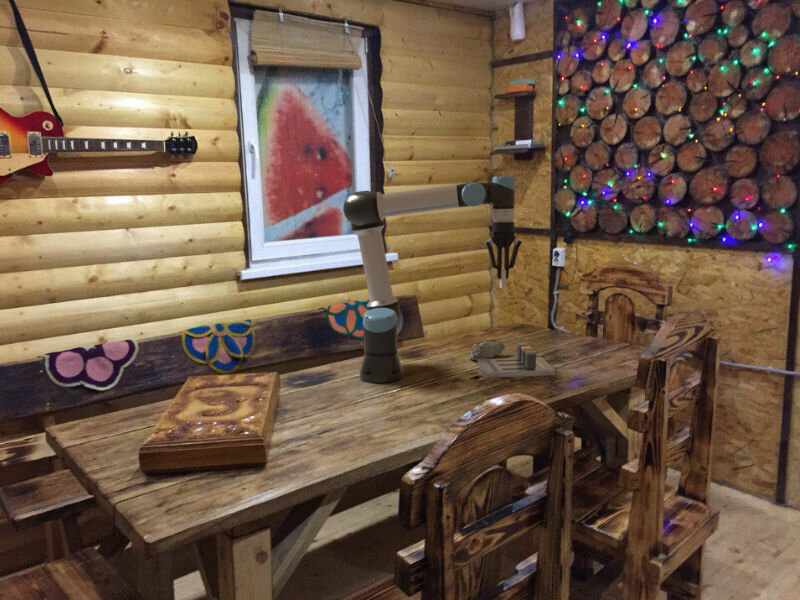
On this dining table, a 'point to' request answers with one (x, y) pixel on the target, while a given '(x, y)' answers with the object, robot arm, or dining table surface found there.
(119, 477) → the dining table surface
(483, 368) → the panel
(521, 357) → the breaker middle
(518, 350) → the breaker far
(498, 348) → the mineral specimen
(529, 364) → the breaker near
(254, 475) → the dining table surface
